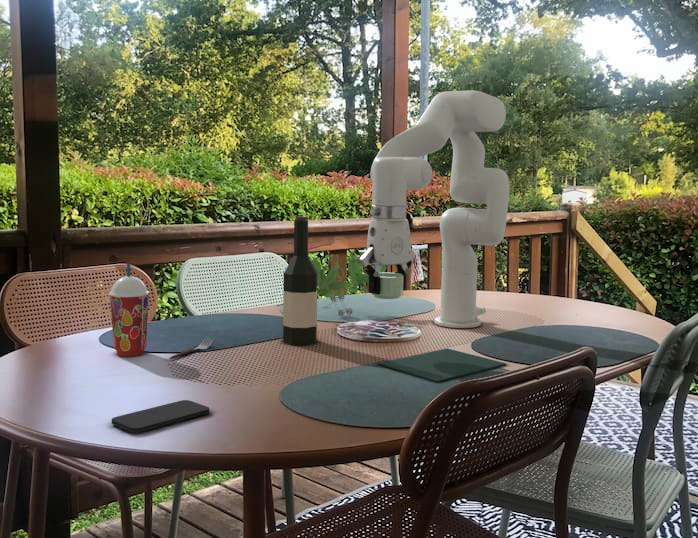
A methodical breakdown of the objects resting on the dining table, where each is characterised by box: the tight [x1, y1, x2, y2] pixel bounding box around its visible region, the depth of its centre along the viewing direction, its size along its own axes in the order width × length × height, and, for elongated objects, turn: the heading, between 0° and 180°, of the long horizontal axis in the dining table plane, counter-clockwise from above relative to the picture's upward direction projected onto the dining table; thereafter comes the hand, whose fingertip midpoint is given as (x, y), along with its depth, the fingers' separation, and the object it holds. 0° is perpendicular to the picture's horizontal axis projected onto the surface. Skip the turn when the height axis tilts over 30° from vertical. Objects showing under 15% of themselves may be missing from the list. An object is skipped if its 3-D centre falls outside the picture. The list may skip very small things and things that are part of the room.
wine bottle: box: [282, 215, 318, 346], centre depth 179 cm, size 8×8×30 cm
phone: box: [111, 399, 210, 433], centre depth 123 cm, size 7×1×15 cm
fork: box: [169, 336, 215, 360], centre depth 168 cm, size 3×16×2 cm, turn 159°
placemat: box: [377, 348, 507, 383], centre depth 162 cm, size 22×17×1 cm
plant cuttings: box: [276, 251, 387, 319], centre depth 213 cm, size 35×17×22 cm
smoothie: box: [108, 263, 150, 357], centre depth 165 cm, size 8×8×20 cm
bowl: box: [370, 272, 404, 300], centre depth 170 cm, size 7×7×5 cm
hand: (387, 291), depth 170 cm, fingers closed on bowl, 7 cm apart
